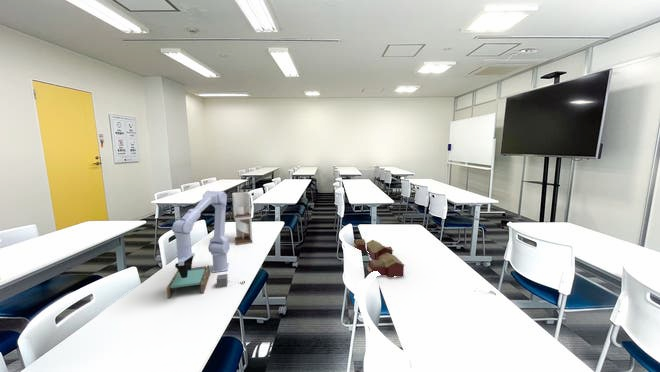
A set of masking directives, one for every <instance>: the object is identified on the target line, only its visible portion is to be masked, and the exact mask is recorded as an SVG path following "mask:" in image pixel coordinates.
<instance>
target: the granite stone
mask: <svg viewBox="0 0 660 372" xmlns="http://www.w3.org/2000/svg"><path fill="white" fill-rule="evenodd" d="M228 277H229V276H228V273H224V274H217V277H216V288H217V289H220V288H228V285H229V284H228V282H229V278H228Z"/></svg>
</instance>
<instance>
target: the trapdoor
mask: <svg viewBox="0 0 660 372" xmlns="http://www.w3.org/2000/svg"><path fill="white" fill-rule="evenodd" d="M206 268H207V265H205V266H198V267H191V270H188V275H187V278H181V275H180V273H179V272H178V274H177V276H176V278H175V279H174V281H173V283H172V284H171V286H170V287H171V288H176V289H177V288H183V287H190V286H198V285H201V281H202V278H203V275H204V273H205V271H206Z"/></svg>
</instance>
